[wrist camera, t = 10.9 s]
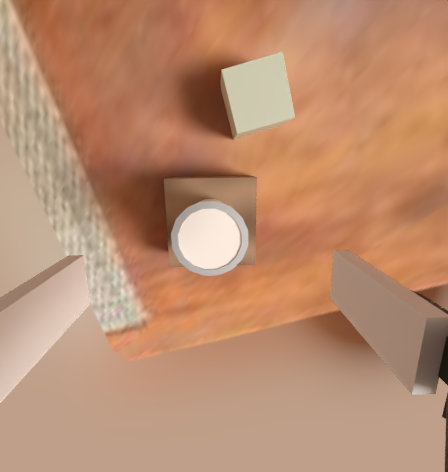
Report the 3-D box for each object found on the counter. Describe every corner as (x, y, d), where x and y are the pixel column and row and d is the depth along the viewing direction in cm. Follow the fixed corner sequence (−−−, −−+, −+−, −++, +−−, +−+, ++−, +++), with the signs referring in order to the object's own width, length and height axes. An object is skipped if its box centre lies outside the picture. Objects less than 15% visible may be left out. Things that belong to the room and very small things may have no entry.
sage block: (220, 87, 32) (221, 69, 26) (270, 72, 32) (282, 51, 26) (233, 139, 34) (237, 133, 28) (281, 126, 33) (295, 117, 28)
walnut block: (171, 177, 34) (163, 178, 29) (250, 175, 35) (256, 177, 30) (175, 253, 37) (169, 266, 32) (250, 251, 37) (255, 264, 32)
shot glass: (167, 216, 30) (154, 231, 24) (218, 180, 30) (219, 184, 23) (204, 264, 32) (201, 290, 25) (253, 230, 31) (264, 248, 24)
